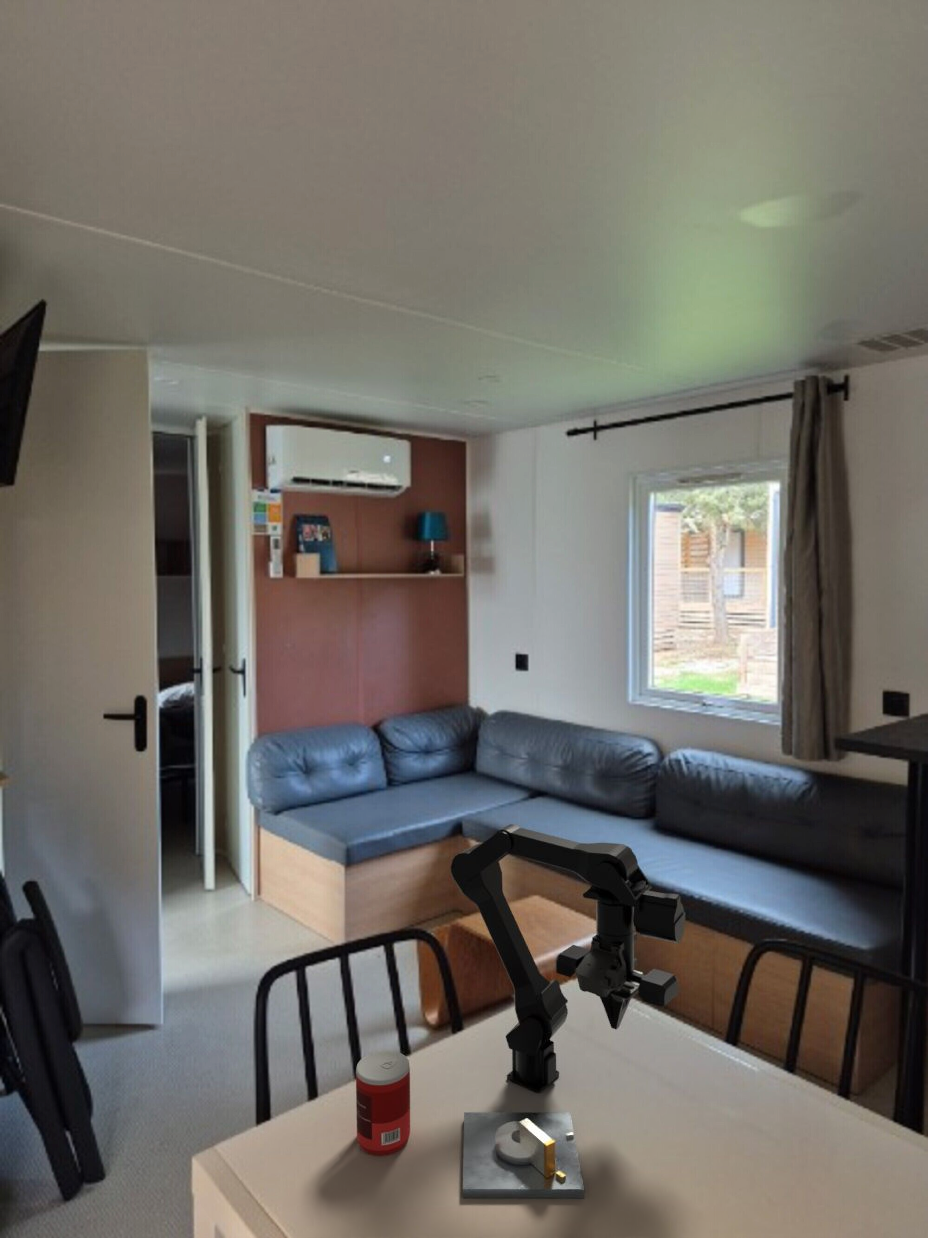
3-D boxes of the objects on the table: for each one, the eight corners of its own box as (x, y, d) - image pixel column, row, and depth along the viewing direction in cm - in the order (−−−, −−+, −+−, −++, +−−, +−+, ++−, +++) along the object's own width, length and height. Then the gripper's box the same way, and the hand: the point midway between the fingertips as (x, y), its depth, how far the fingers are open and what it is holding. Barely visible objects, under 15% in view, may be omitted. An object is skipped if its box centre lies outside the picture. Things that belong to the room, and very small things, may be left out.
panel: (462, 1198, 108) (462, 1185, 108) (464, 1120, 124) (464, 1108, 124) (584, 1198, 108) (584, 1185, 108) (570, 1120, 124) (570, 1108, 124)
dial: (485, 1143, 117) (485, 1112, 117) (524, 1125, 121) (524, 1096, 120) (530, 1186, 108) (530, 1153, 108) (570, 1166, 112) (570, 1134, 112)
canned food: (419, 1129, 122) (419, 1057, 121) (392, 1163, 115) (392, 1086, 114) (375, 1116, 125) (374, 1045, 125) (346, 1148, 118) (345, 1073, 117)
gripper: (535, 931, 126) (536, 1030, 127) (647, 964, 115) (647, 1073, 115) (572, 909, 135) (573, 1002, 135) (680, 937, 123) (680, 1039, 124)
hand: (615, 1028), depth 127 cm, fingers closed
